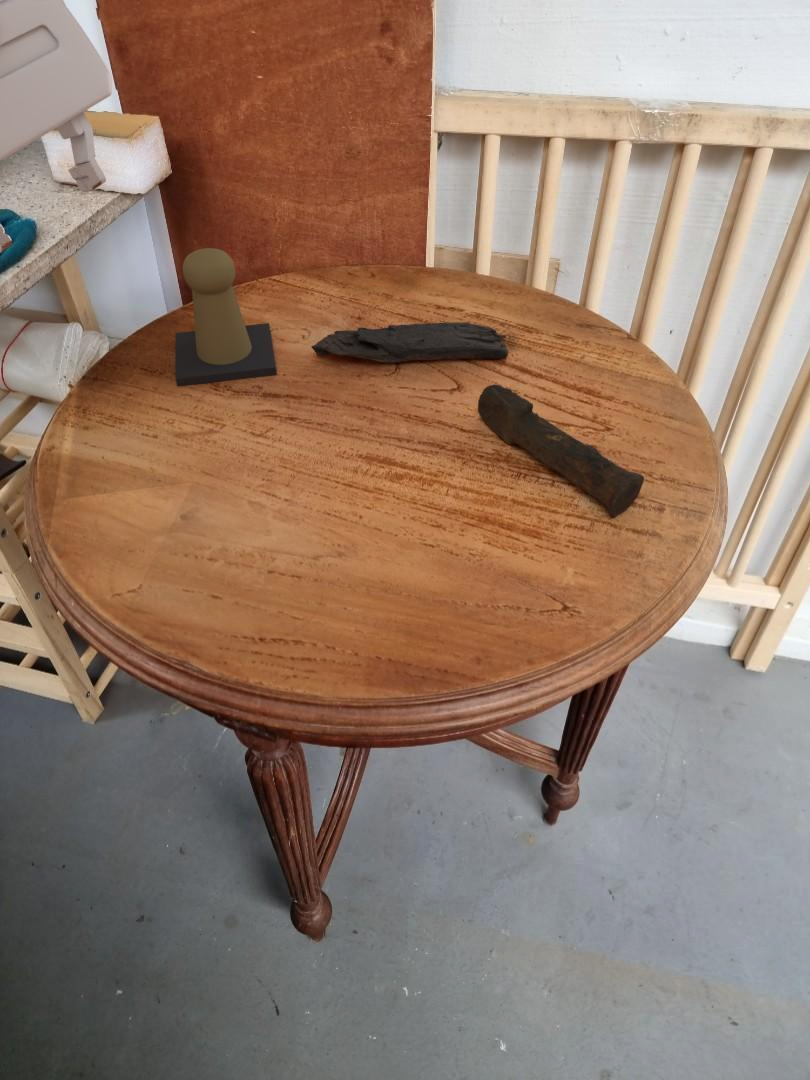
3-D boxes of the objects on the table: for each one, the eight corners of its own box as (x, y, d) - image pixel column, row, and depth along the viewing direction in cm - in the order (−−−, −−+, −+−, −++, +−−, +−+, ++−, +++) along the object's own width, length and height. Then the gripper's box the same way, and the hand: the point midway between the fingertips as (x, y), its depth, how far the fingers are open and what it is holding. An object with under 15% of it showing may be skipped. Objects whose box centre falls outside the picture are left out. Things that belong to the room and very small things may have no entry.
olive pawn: (188, 361, 84) (165, 266, 76) (207, 331, 88) (187, 238, 80) (242, 367, 83) (225, 271, 75) (258, 336, 87) (244, 242, 79)
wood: (501, 325, 91) (503, 302, 89) (512, 361, 86) (515, 337, 84) (312, 335, 90) (309, 311, 87) (312, 372, 85) (310, 348, 82)
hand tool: (640, 505, 71) (652, 466, 67) (611, 524, 69) (622, 485, 65) (497, 405, 81) (502, 367, 77) (469, 420, 79) (472, 382, 76)
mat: (177, 386, 83) (175, 378, 82) (177, 340, 89) (175, 332, 88) (277, 374, 84) (275, 367, 83) (270, 330, 90) (269, 322, 89)
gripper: (12, -36, 55) (121, 159, 64) (-255, 79, 45) (-81, 293, 54) (59, -63, 52) (169, 148, 60) (-220, 56, 41) (-39, 289, 50)
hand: (50, 217), depth 57 cm, fingers open, 8 cm apart
